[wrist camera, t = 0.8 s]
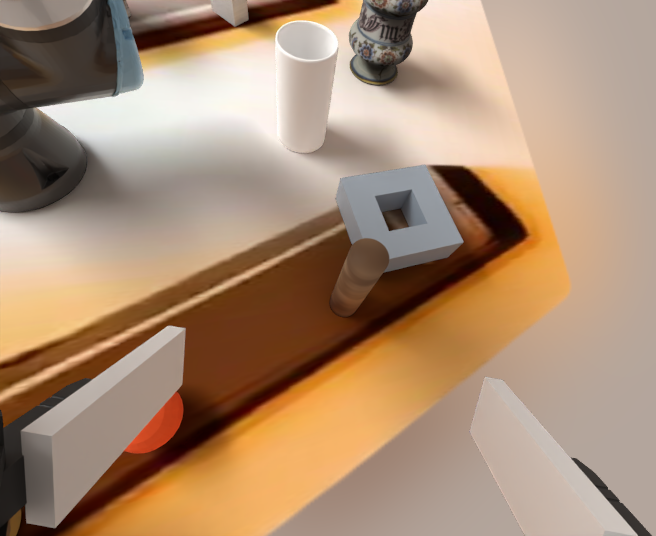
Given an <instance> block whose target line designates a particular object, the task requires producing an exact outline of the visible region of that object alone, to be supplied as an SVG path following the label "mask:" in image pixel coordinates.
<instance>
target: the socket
mask: <svg viewBox="0 0 656 536" xmlns="http://www.w3.org/2000/svg"><path fill="white" fill-rule="evenodd" d="M336 201H337V204H338V207H339V209H340V212H341V215H342V218H343V221H344V224H345V226H346V229H347V232H348V235H349V238H350V240H351V243H352V245H353V244H354V243H355V242H356V241H358V240H360V239H363V238H371V239H375V240H377V241H379V242H380V243H382V244H383V245H384V246H385V247H386V249H387V251H388V253H389V264H388V266H387V268H386V269H385V271H384V272H388V271H392V270H397V269H401V268H405V267H409V266H414V265H418V264H422V263H426V262H431V261H435V260H439V259H443V258H448V257H449V256H450V255H451V254H452V253H453V252H454V251H455V250H456V249H457V248H458V247H459V246H460V245H461V244H462V243H463V240H462V238H461V236H460V234H459V232H458V230H457V228H456V226H455V224H454V222H453V219H452V217H451V215H450V213H449V211H448V209H447V207H446V205H445V203H444V201H443V199H442V197H441V195H440V193H439V191H438V189H437V187H436V185H435V183H434V181H433V179H432V177H431V175H430V173H429V171H428V169H427V167H426V165H420V166H414V167H408V168H401V169H395V170H389V171H383V172H376V173H370V174H364V175H358V176H351V177H345V178H340V182H339V187H338V191H337V195H336ZM396 209H401V210H402V212H403V214H404V217H405V219H406V221H407V224H408V226H409V227H407V228H403V229H398V230H393V231H389V230H388V227H387V225H386V222H385V220H384V217H383V215H382V213H381V212H385V211H390V210H396ZM384 272H383V273H384Z"/></svg>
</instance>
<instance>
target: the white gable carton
mask: <svg viewBox="0 0 656 536" xmlns="http://www.w3.org/2000/svg"><path fill="white" fill-rule="evenodd" d="M211 5H212V10H213V11H214V12H215V13H217V14H218V15H220V16H221V17H222V18H224V19H225V20H227V21H228V22H229V23H231V24H232V25H234V26H237V25H239V24H241V23H243V22H245V21H247V20H249V19H248V8H247V0H211Z"/></svg>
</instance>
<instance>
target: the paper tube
mask: <svg viewBox="0 0 656 536" xmlns="http://www.w3.org/2000/svg"><path fill="white" fill-rule="evenodd" d="M20 522H21V509H20V510H19V511H18V512H17V513H16V514H15V515H14V516H13V517H12V518H11V519H10V525H11V531H10V536H16V534H17V532H18V529H19V526H20Z"/></svg>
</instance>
